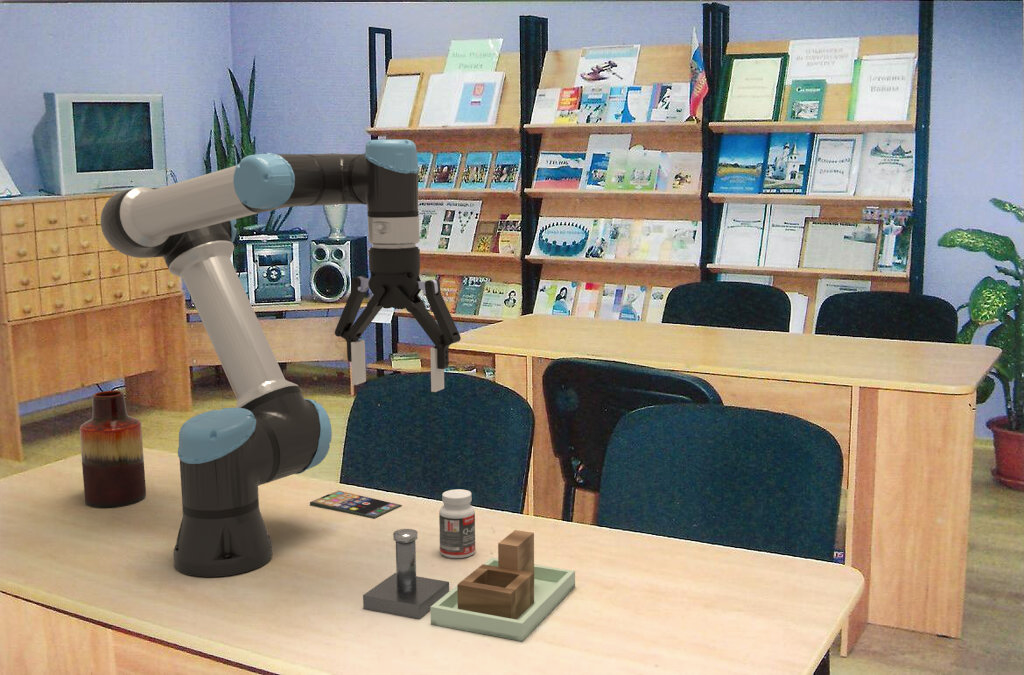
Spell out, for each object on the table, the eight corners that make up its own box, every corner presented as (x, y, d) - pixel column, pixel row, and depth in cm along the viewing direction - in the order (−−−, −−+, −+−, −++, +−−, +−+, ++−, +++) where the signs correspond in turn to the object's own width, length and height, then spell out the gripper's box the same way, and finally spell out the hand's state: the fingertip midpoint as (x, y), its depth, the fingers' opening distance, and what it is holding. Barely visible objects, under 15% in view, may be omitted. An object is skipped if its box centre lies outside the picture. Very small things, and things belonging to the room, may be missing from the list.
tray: (430, 624, 145) (430, 606, 144) (491, 573, 162) (491, 557, 162) (522, 641, 139) (522, 623, 139) (575, 586, 157) (575, 570, 157)
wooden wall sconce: (511, 625, 143) (510, 568, 142) (457, 615, 146) (456, 560, 145) (550, 587, 155) (549, 534, 154) (500, 579, 159) (499, 527, 157)
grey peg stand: (363, 608, 150) (361, 538, 148) (395, 585, 158) (393, 519, 156) (419, 619, 146) (417, 547, 145) (449, 594, 155) (448, 527, 153)
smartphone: (374, 521, 188) (374, 514, 188) (310, 507, 195) (309, 501, 195) (402, 508, 195) (401, 502, 194) (338, 496, 202) (338, 489, 202)
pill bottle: (470, 560, 168) (469, 500, 166) (435, 558, 169) (434, 498, 167) (479, 547, 173) (478, 489, 172) (445, 545, 174) (444, 487, 173)
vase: (103, 489, 206) (96, 386, 203) (156, 491, 205) (149, 387, 201) (73, 507, 195) (65, 399, 192) (128, 509, 194) (121, 400, 191)
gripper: (308, 245, 158) (314, 384, 162) (458, 249, 148) (460, 398, 152) (336, 241, 165) (341, 375, 169) (481, 245, 155) (483, 388, 159)
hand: (397, 386), depth 160 cm, fingers open, 13 cm apart
